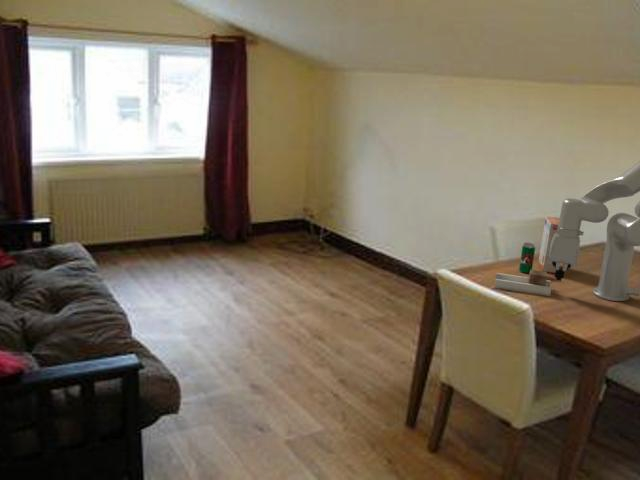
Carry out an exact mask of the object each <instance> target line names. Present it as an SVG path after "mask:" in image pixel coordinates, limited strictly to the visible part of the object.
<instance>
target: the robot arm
mask: <svg viewBox="0 0 640 480" xmlns="http://www.w3.org/2000/svg"><path fill="white" fill-rule="evenodd" d="M639 192H640V161H638V162H637V163H635V164H634V165H632V166H631V167H630V168H629V169H628V170H626V171H624V172H623V173H622V174H620V175H619V176H617V177H616V178H613V179H610V180H608V181H606V182H603V183H600V184H598V185H597V186H595V187H593V188H591V189H590V190H588V191H587V192H585V194H583V195H582V196H581V197H580V198H579V199H578V198H570V197H569V198H565V199H564V200H563V201H562V204H561V208H560V214H559V218H560V219H559V224H558V229H557V233H555V234H554V235H553V238H552V241H551V245H550V249H549V253H548V258H547V263H550V264H552V265H553V266H554V267H555V268H556V272H555V273H554V278H555V280H556V281H559V282H562V280H563V279H564V277H565V272H566V271H568V270H569V269H570V268H577V267H578V260H579V254H580V248H581V247H580V244H581V238H580V236H583V235H584V231H582V230H581V226H582V222H583V221H584V222H589V223H594V224H597V223H602V222H605V221H606V220H607V218H608V217H609V213H610V212H609V208H608V207H607V206H606V205H605V204H606V203H608V202H609V201H612V200H615V199H622V198H629V197H633V196H635V195H637V194H638V193H639ZM634 214H635V216H636V217H635V216H634V215H632V214H630V213H625V212H618V213H615V214H614V215H612V216H611V217H610V218H609V220H608V222H607V225H606V243H605V249H604V255H603V260H602V265H601V270H600V275H599V280H598V286H596V287H594V288H593V289H592V294H593V295H595V296H596V297H599V298H600V299H603V300H608V301H613V302H614V301H615V302H626V301H628V300H629V299H630V295H632V296H638V297H639V296H640V290H637V289H636V288H630V287H629V286H628V282H629V281H628V280H629V277H630V273H631V267H632V261H633V257H634V251H635V247H640V200H639V201H638V202H637V203H636V204H635V206H634ZM560 263H561V264H563V265H562V267H561V268H560Z"/></svg>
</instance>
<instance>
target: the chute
mask: <svg viewBox="0 0 640 480" xmlns="http://www.w3.org/2000/svg"><path fill="white" fill-rule="evenodd" d="M528 280H529V276H520V275H515V274H514V275H513V274H509V273H508V274H507V273H500V272H496V275H495V281H494V289H500V290H501V289H502V290H507V291H514V292H522V293H526V294H534V295H540V296H547V297H550V296H551V293H552V287H551V282H552V281H551V280H546V286H541V285H534V284H528Z"/></svg>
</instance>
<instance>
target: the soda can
mask: <svg viewBox="0 0 640 480" xmlns="http://www.w3.org/2000/svg"><path fill="white" fill-rule="evenodd" d="M521 246H522V247H521V255H520V259H519V260H520V262H519V267H518V270H519V272H520V273H523V274H530V270H533V266H534V258H535V252H536V245H535V243H533V242H523V245H521Z"/></svg>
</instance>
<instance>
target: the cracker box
mask: <svg viewBox="0 0 640 480" xmlns="http://www.w3.org/2000/svg"><path fill="white" fill-rule="evenodd" d="M559 219H560V217H556V216H555V217H553V216H545V220H544V225H543V233H542V238H541V244H540V249H539V250H540V251H539V256H538V261H537V262H538V264H539V266H540V269H541V271H543V272H547V273H550V274H555V272H556V268H555V267H554V266H553V265H552V264H550V263H547V258H548V253H549V249H550V245H551V241H552V238H553V235H554V234H555V233H557V229H558V224H559Z"/></svg>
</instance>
